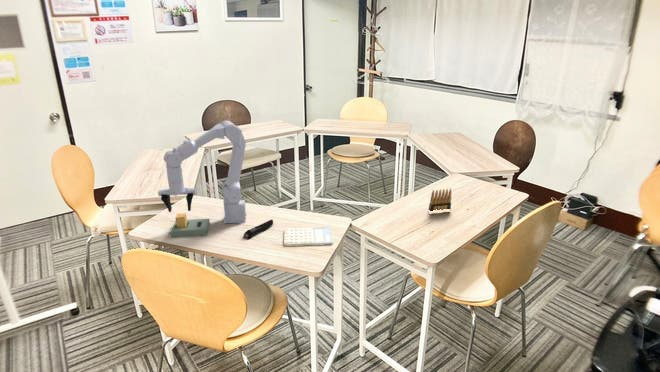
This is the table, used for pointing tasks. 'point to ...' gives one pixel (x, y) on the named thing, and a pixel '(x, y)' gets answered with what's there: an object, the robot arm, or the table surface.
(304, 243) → the calculator
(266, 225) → the electric trimmer
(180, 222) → the square peg
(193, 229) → the socket plate
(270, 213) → the table surface
